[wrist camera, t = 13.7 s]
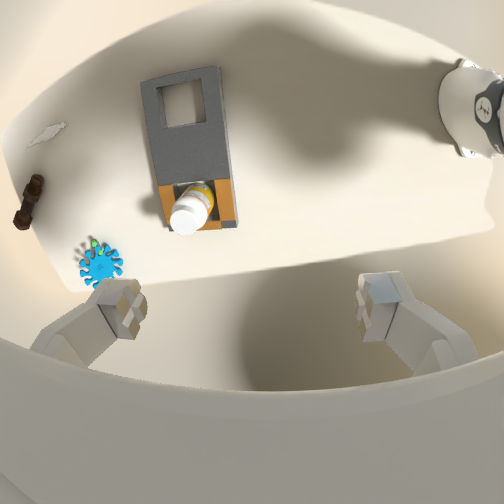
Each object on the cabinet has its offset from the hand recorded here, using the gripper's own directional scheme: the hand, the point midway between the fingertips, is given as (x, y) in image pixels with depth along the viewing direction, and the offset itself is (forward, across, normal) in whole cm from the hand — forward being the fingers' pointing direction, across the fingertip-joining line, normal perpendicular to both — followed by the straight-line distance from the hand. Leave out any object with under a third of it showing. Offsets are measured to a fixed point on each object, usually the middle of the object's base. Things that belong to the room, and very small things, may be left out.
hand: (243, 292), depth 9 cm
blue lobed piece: (+34, +35, +20) cm, 53 cm away
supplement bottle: (+34, +12, +9) cm, 37 cm away
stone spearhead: (+35, +44, -9) cm, 56 cm away
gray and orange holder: (+34, +12, +1) cm, 36 cm away
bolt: (+34, +53, +3) cm, 63 cm away
